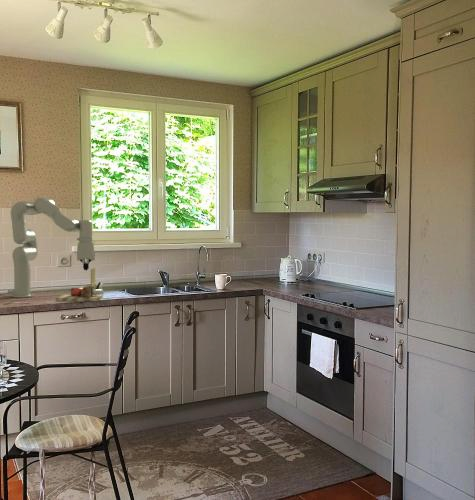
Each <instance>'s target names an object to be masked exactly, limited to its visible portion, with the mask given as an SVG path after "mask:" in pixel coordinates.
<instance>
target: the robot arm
mask: <svg viewBox="0 0 475 500" xmlns="http://www.w3.org/2000/svg"><path fill="white" fill-rule="evenodd" d="M39 214H40V215H41V214H43V215H45V216H46V217H48V218H49V219H51V220H52V221H53V223H54V224H55V225H56V226H58V227H59V228H60V229H62V230H63V231H66V232H68V233H69V232H71V233H76V232H77V233H78V232H79V237H77V238H76V241H78V242H77V248H76V261H78V262H81V263H82V265H83V266H82V267H83V268H82V269H83V271H88V270H89V269H90V267H89V265H90V263H91V262H93V261H95V260H96V258H95V254H96V253H95V244H94V242H93V222H92V220H90V219H74V218H73V219H70V218H68V217H67V216H65V215H64V214H63V213H62V209H61V207H60V206H57V205H56V204H55V201H54V200H53V199H52V198H51V197H43V196H40V197H37V198H36V199H35V200H34V201H29V200H27V201H26V200H22V201H17V202H16V203H14V204H13V205H12V207H11V209H10V217H11V218H10V220H11V226H12V227H11V228H12V229H11V230H12V238H13V239H12V240H13V242H14V243H15V244H16V245H17V244H18V245H21V246H17V247H15V248H14V249H13V251H12V253H11V254H12V260H13V261H12V263H13V275H14V276H13V278H14V279H13V281H14V284H13V285H14V286H13V287H14V288H13V289H8V290H7V294H11V297H12V298H31V297H33V296H34V293H31V265H30V262H31V261H34V260H35V259H36V258H37V257H38V240H37V236H36V233H35V231H34V230H32V229H31V228H30V229H29V228H28V225H27V220H26V218H25V215H26V216H34V215H36V216H37V215H39ZM22 245H23V246H22Z"/></svg>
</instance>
